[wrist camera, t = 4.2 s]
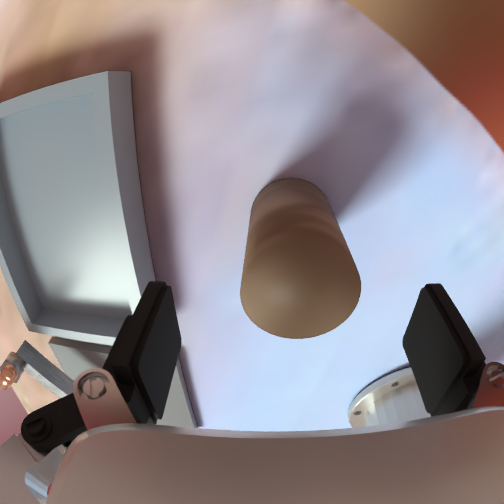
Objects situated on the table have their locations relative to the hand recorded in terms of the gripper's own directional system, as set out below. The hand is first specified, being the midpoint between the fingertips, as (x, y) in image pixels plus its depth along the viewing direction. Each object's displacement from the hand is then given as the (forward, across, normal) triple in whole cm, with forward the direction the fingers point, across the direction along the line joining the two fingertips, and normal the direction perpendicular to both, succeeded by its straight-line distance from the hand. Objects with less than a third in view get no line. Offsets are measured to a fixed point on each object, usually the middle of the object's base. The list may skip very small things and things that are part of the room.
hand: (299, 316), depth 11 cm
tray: (+10, +16, 0) cm, 19 cm away
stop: (+10, 0, 0) cm, 10 cm away
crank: (+6, +19, +16) cm, 26 cm away
